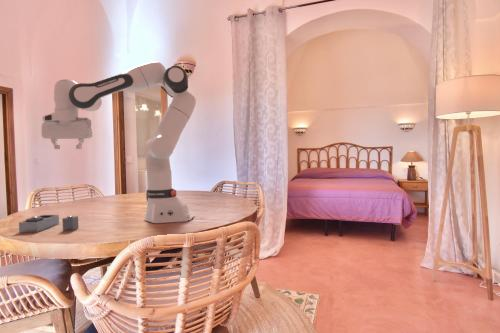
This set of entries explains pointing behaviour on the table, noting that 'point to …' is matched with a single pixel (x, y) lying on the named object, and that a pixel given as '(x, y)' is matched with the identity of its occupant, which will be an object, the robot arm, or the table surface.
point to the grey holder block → (39, 224)
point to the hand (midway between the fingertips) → (68, 149)
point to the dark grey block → (70, 223)
